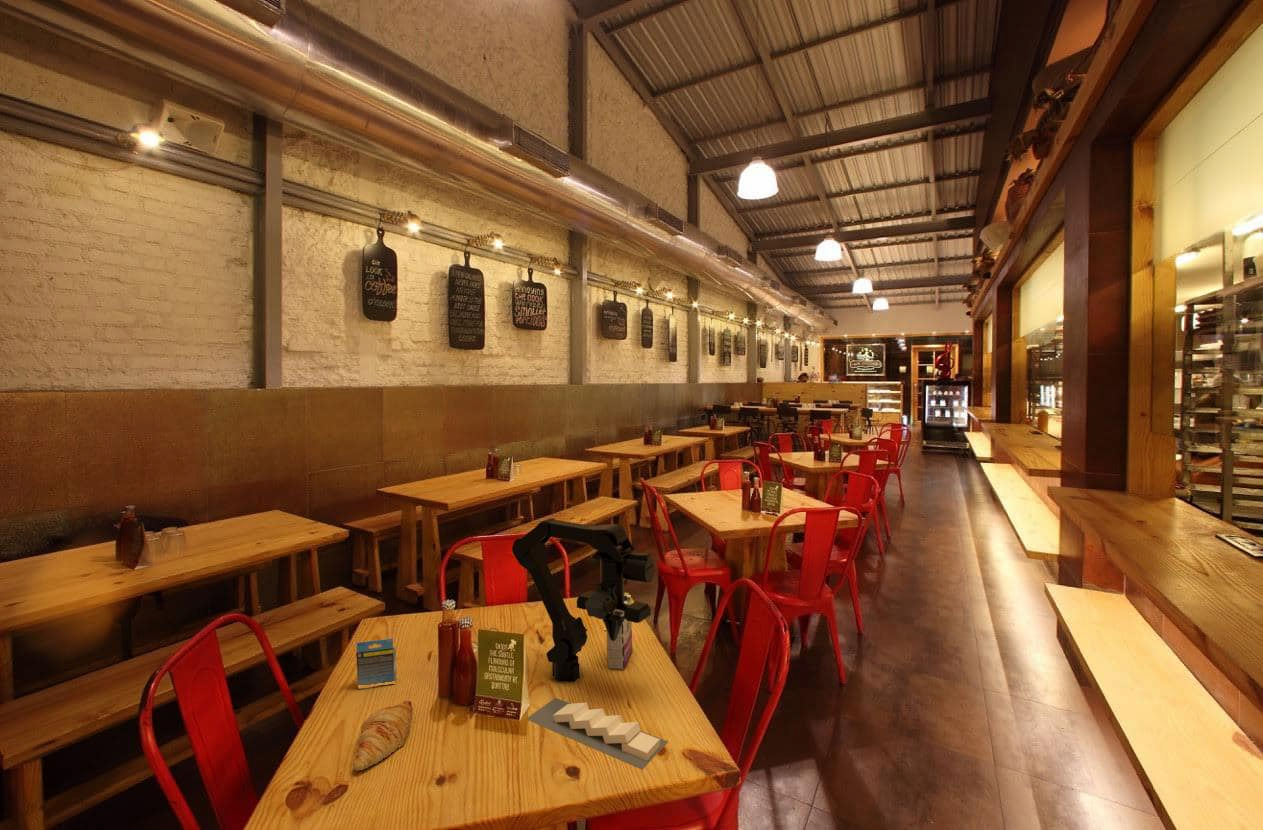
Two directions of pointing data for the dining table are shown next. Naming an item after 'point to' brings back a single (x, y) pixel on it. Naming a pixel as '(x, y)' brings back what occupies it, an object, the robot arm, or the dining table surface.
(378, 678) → the label tape box
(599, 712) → the domino
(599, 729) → the domino
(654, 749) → the domino
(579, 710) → the domino
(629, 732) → the domino
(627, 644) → the candy bar box
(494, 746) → the dining table surface
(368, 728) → the croissant
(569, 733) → the metal plate
